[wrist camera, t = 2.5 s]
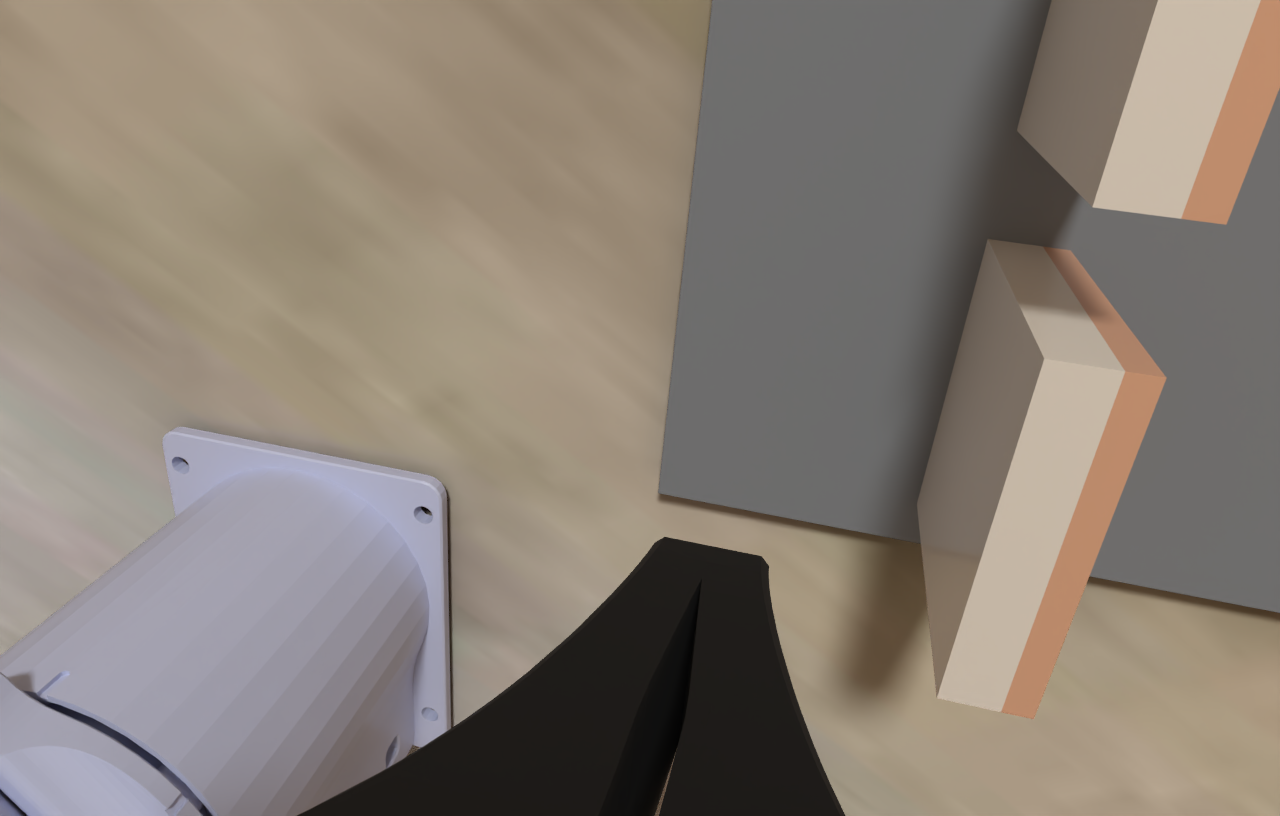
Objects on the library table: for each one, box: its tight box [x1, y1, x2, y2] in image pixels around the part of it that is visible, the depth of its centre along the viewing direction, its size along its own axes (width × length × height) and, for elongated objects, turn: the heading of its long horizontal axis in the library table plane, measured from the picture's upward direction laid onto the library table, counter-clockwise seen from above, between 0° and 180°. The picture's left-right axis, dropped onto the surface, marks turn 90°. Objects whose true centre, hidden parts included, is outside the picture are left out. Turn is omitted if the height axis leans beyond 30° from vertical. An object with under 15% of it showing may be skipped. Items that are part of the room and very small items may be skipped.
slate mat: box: [658, 0, 1280, 613], centre depth 16 cm, size 16×15×1 cm
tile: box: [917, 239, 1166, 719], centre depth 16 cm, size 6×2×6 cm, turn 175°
